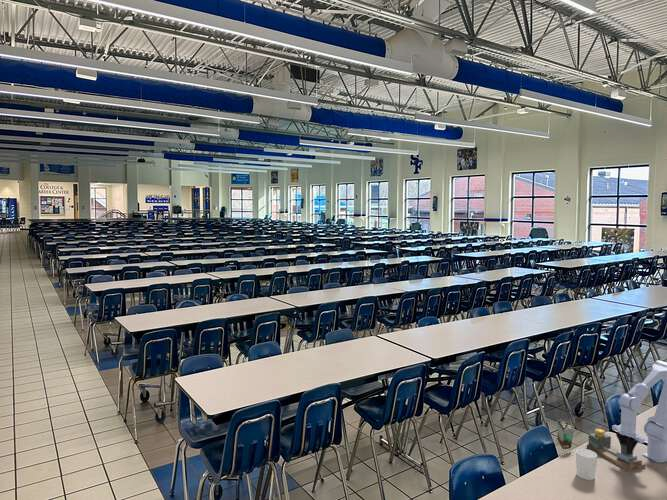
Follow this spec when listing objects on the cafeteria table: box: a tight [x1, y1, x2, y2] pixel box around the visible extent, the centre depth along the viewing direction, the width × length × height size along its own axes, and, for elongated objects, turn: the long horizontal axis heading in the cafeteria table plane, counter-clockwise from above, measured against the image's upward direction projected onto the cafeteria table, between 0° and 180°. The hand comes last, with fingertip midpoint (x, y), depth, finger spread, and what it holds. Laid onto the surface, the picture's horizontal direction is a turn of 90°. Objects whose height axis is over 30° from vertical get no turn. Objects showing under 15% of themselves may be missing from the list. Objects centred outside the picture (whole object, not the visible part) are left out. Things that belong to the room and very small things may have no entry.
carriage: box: [616, 443, 638, 463], centre depth 212 cm, size 5×6×7 cm
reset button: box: [594, 428, 606, 437], centre depth 226 cm, size 4×4×5 cm
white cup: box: [575, 448, 598, 481], centre depth 201 cm, size 8×8×10 cm
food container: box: [556, 419, 576, 450], centre depth 229 cm, size 12×6×10 cm, turn 168°
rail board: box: [586, 432, 646, 472], centre depth 218 cm, size 10×22×6 cm, turn 18°
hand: (626, 451), depth 212 cm, fingers closed on carriage, 2 cm apart
